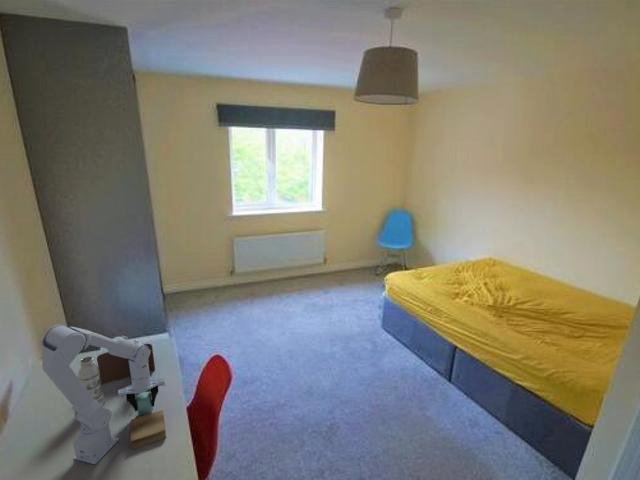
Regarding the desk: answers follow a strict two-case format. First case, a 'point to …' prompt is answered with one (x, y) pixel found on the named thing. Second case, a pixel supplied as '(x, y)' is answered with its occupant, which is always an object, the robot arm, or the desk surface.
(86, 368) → the plastic bottle
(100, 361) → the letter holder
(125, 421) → the desk surface
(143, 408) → the teal tapered rounded part
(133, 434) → the block
